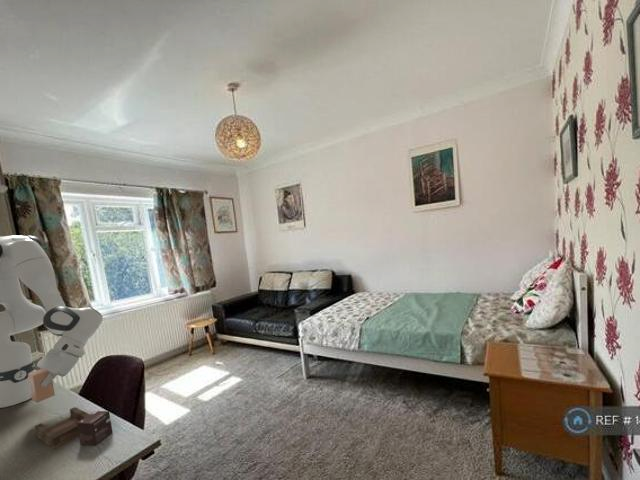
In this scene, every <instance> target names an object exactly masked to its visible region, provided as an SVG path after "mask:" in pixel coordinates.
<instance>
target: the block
mask: <svg viewBox="0 0 640 480" xmlns="http://www.w3.org/2000/svg"><path fill="white" fill-rule="evenodd" d="M49 373H50V372H49V371H47V370H45V369H41V368H39V369H36V371H34V372H32V373H29V374H28V377H29V383H30V390H31V396H32V398H31V400H32V402H35V403H37V404H38V403H40V402H42V401H44V400H47V399H49V398H52V397H54V396H56V394H55V387H54V381H53V380H54V379H53V380H52V381H50V382H49V383H48V385H47V386H46V387H43V386H41V385H40V383H41V382H42V381H43V380H44V379H45V378H46V377H47V376H48V374H49Z"/></svg>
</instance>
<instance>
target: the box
mask: <svg viewBox="0 0 640 480" xmlns="http://www.w3.org/2000/svg"><path fill="white" fill-rule="evenodd" d="M89 414H90V415H88V416H86V417H85V418H84V419H82V420H81V421H79V422H78V423H77V427H78V433H79V436H78V438H79V439H78V440H79V445H80V446H93V447H94V446H95V447H96V446H97V445H99V444H100V443H101V442H103V441H104V440H105V439H106V438H108V437H109V436H110V435H112V433H113V427H112V421H111V416H110V411H108V410H104V411H103V410H96V411H93V412H91V413H89Z"/></svg>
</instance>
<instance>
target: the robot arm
mask: <svg viewBox="0 0 640 480" xmlns="http://www.w3.org/2000/svg"><path fill="white" fill-rule="evenodd" d="M52 264H53V263H52V262H51V260H50V258H49V256H48V255H47V253H46V251H45V250H44V249H43V242H42V241H41V239H40V238H39V237H37V236H34V235H30V234H29V235H27V234H26V235H25V234H24V235H4V236H3V235H2V236H1V235H0V305H2V306H3V307H4V308H5V310H3V311H0V409H2V408H7V407H10V406H15V405H17V404H21V403H23V402H25V401H28V400H31V399H32V396H31V390H30V383H29V377H28V374H29V373H32V372H34V371H37V369H36V368H39V369H45V370H47V371H49V372H50V373H49V374H48V376H47V377H46V378H45V379H44V380H43V381H42V382H41V383H40V385H41V386H43V387H46V386H47V385H48V383H49V382H50V381H52V380H54V379H55V378H56V377H57V376H59V377H61V378H62V377H63V378H64V377H65V376H67V375H68V374H69V373H70V371H71V370H72V369H73V368H74V367H75V365H76V364H77V363H78V361H79V359H80V358H83V356H84V355H85V352H86V351H85V350H84V347H85V346H86V344H87V343H88V340H89V339H90V338H91V337H93V335H94V334H95V333H96V331H98V328H99V327H100V326H101V324H102V321H103V320H104V319H103V315H102V313H100V312H99V311H98V310H96V309H95V308H94V307H89V306H88V307H82V308H81V307H80V308H76V307H70V306H69V307H68V306H66V304H65V302H64V300H63V298H62V295H61V294H60V292H59V289H58V285H57V280H56V274H55V271H54V266H53V265H52ZM20 281H21V282H22V283H23V284H24V285H25V286H26V287H27V288H28V289H29V290H30V291H32V292H33V293H34V294H35V295H36V296H37V297H38V298H39V301H41V303H42V305H43V306H41V305H38V304H35V303H33V302H32V301H30V300H29V299H27V297H25V295H24V292H23V291H22V287H21V283H20ZM42 325H44V327H46V329H48V331H49V332H50V333H51V334H52V335H54V336H56V337H60V338H58V340H57V341H56V343H55V344H54V345H53V346H52V348H50V349H49V350H48V351H47V352H46V353H45V354H44V355H43V356H42V358H41V359H40V360H39V361H38V362H37V364H36V363H35V362H34V360H33V357H32V356H33V355H32V351H31V350H32V349H31V346H30V344H29V343H27V342H23V341H12V339H11V336H14V335H16V334H21V333H23V332H27V331H30V330H32V329H36V328H38V327H41V326H42Z"/></svg>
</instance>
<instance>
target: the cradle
mask: <svg viewBox="0 0 640 480" xmlns="http://www.w3.org/2000/svg"><path fill="white" fill-rule="evenodd" d="M90 414H91V413H88V412H86V411H84V410H82V409H79V408H78V407H76V406H74V407H71V408H70V409H69V416H68V417H66V418H63V419H62V420H59V421H58V422H56V423H54V424H52V425H50V426H48V427H47V426H45V425H44V424H43V423H41V422H40V423H37V424H36V425H34V431H35V436H36V437H37V438H38V439H39V440H41V441H42V442H43V443H45V444H46V445H47V446H49V447H50V448H52V449H53V450H56V449H59V448H60V447H62V446H64V445H66V444H68V443H70V442H71V441H73V440H75V439H77V438H79V433H78V427H77V423H78V422H79V421H81V420H82V419H84V418H85V417H86V416H88V415H90Z"/></svg>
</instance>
